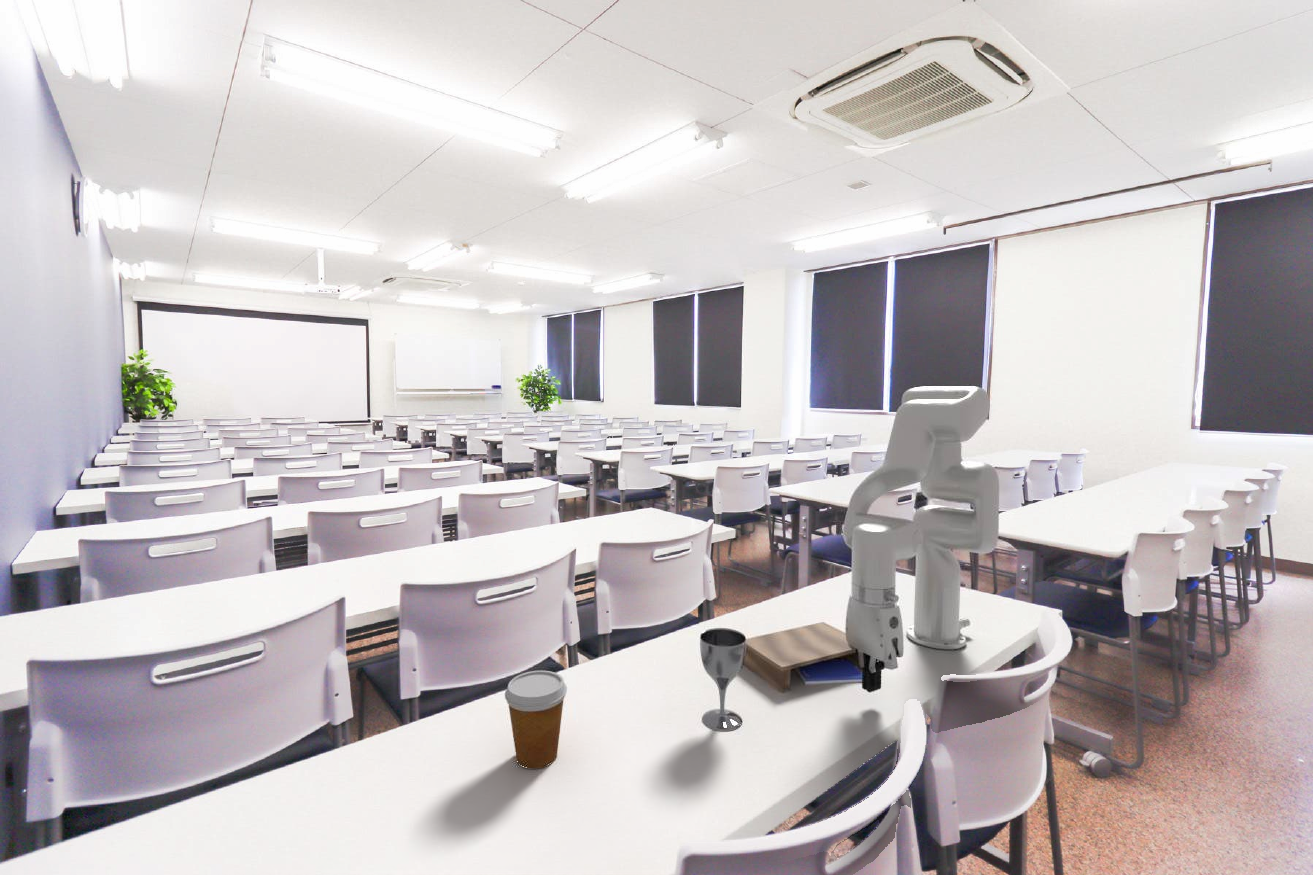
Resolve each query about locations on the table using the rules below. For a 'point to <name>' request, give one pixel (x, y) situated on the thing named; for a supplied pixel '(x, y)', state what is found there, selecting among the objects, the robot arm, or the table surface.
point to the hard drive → (829, 672)
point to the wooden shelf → (795, 652)
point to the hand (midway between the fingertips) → (871, 688)
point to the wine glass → (722, 671)
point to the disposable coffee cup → (536, 716)
